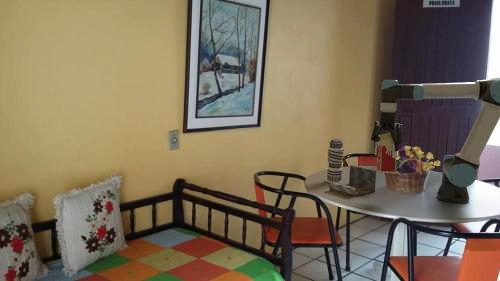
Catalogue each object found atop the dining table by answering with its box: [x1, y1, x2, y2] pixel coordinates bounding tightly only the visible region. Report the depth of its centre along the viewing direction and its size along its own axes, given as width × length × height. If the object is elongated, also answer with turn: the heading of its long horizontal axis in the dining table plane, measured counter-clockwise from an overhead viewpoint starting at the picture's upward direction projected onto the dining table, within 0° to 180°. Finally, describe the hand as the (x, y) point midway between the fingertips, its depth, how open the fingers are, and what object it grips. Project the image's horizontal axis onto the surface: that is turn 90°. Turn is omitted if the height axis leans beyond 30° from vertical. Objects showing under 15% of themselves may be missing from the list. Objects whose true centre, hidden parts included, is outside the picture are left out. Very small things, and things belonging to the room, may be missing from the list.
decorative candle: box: [326, 138, 345, 184], centre depth 253 cm, size 9×9×25 cm
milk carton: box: [375, 132, 397, 174], centre depth 216 cm, size 9×9×20 cm
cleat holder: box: [328, 164, 377, 198], centre depth 233 cm, size 16×19×12 cm
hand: (385, 156), depth 216 cm, fingers closed on milk carton, 9 cm apart
